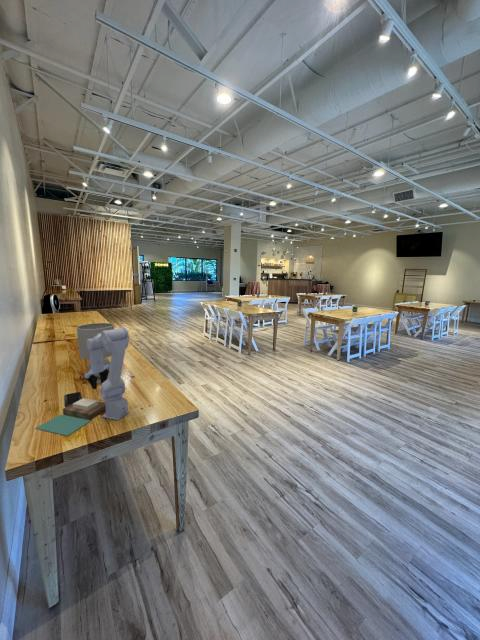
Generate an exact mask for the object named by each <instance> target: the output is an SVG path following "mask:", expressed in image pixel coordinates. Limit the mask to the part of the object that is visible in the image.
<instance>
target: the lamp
mask: <svg viewBox="0 0 480 640" xmlns="http://www.w3.org/2000/svg"><path fill="white" fill-rule="evenodd" d="M113 329H115V324H114V323H109V322H95V323H94V322H93V323H87V324H82V325H79V326H77V327H76V336H77V343H78V353H79V358H80V359H81V360H89V362H88V365H87V372H89V371H90V369H91V363H90V352H89V350H88V348H87V340H88V339H93V338H94V336H97V334H98V333H101V334H102V331H104V330H113ZM102 353H103V365H104V366H105V365H110V362H111V360H109V359H108V358H109V357H110V358H111V356H112V353H111V352H108V351H107V350H106V348H105V346H104V348H103V352H102ZM107 370H109V369H107ZM108 375H109V374H108ZM94 376H96V377H98V378H97V385H102V384H101V379H100V375H99V373H97V374H95V375H94ZM107 379H108V376H107ZM107 379H106V380H107Z"/></svg>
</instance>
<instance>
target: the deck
mask: <svg viewBox="0 0 480 640" xmlns="http://www.w3.org/2000/svg"><path fill="white" fill-rule="evenodd" d="M62 412H63V413H62V415H66V416H71V417H76V418H81V419H86V420H91V421H92V420H93V419H94V418H96V417H97V416H99V415H101V414H102V413H104V412H106V408H105V402H102V401H98V405H96V406H95V407H93V408H91V409H90V410H83V409H78V408H73V404H71V405H69V406H68V407H64V408H62Z"/></svg>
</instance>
